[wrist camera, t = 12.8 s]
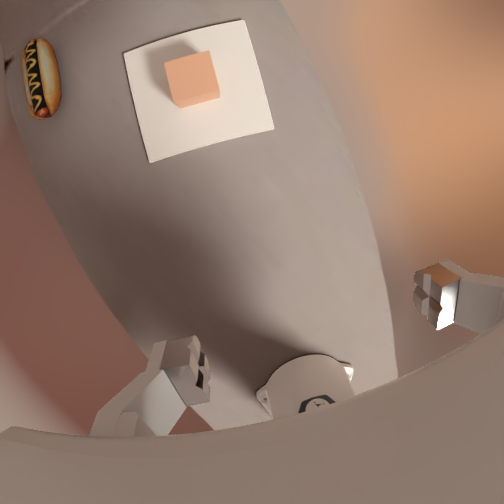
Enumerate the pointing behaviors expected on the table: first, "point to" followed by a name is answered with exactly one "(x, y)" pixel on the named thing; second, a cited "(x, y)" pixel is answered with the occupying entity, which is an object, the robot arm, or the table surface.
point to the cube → (192, 79)
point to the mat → (206, 113)
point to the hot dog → (41, 78)
